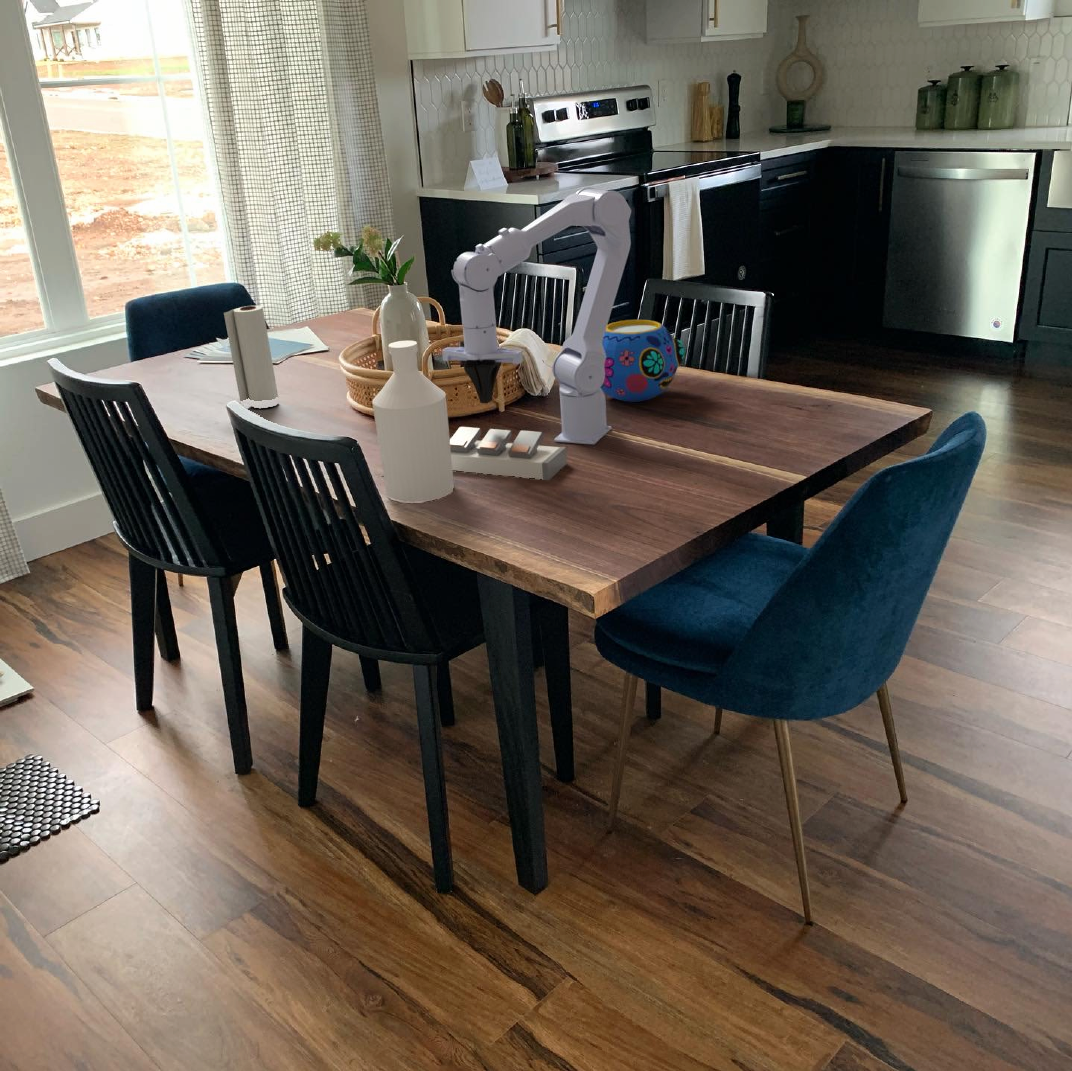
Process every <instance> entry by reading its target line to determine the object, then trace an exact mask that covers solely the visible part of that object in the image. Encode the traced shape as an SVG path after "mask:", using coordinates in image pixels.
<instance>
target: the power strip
mask: <svg viewBox="0 0 1072 1071" xmlns="http://www.w3.org/2000/svg"><path fill="white" fill-rule="evenodd" d="M449 438H450V439H451V438H452V437H449ZM481 441H482V440H477V441H476V442H475V443H474V445H473V446H472V447H471V449H470V450H469V452H468V453H462V452H451V461H452V470H458V471H464V472H463V473H466V472H476V473H475V474H477V473H483V474H482V475H487V474H492V475H491V476H498V475H509V476H515V477H514V478H519V477H522V478H521V479H529V478H535V479H534V480H540V479H542V480H541V481H550V480H551V479H552V478H553V477H554V476H555V475H556V474H558V472H560V471H561V470H562V469H563V468H564V467H565V466H567V464H568V461H567V458H568V457H567V447H566V446H550V445H549V446H547V445H539V446H538V448H537V449H536V451H535V453H534V455H533V456H532V458H531V459H524V458H513V457H509V454H508V451H509V449H510V448H511V446H512V444H513V443H514V442H513V443H512V442H508V443H507V444H506V446H505V447H504V449H503V450H502V451H501V453H500V454H499V456H496V455H485V454H478V453H477V449H476V448H477V447H478V445H479V444H480V442H481ZM560 469H561V470H560Z"/></svg>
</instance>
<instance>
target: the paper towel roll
mask: <svg viewBox="0 0 1072 1071" xmlns="http://www.w3.org/2000/svg"><path fill="white" fill-rule="evenodd" d="M264 312H265V311H264V307H263V306H262V305H247V306H241V307H238V308H237V307H236V308H233V309H231V310H229V311H226V312H223V315H224V316H223V317H224V321H225V326H226V327H225V328H226V331H227V336H228V343H229V348H230V349H229V350H230V354H231V359H232V364H233V370H234V375H235V381H236V386H237V391H238V396H239V402H240V401H243V400H246V399H248V398H249V399H250V400H254V401H262V400H272V399H275V398H276V397H278V398H279V394H278V387H277V383H276V375H275V370H274V363H273V359H272V353H271V352H272V351H271V347H270V340H269V335H268V330H267V324H266V318H265V313H264Z"/></svg>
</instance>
